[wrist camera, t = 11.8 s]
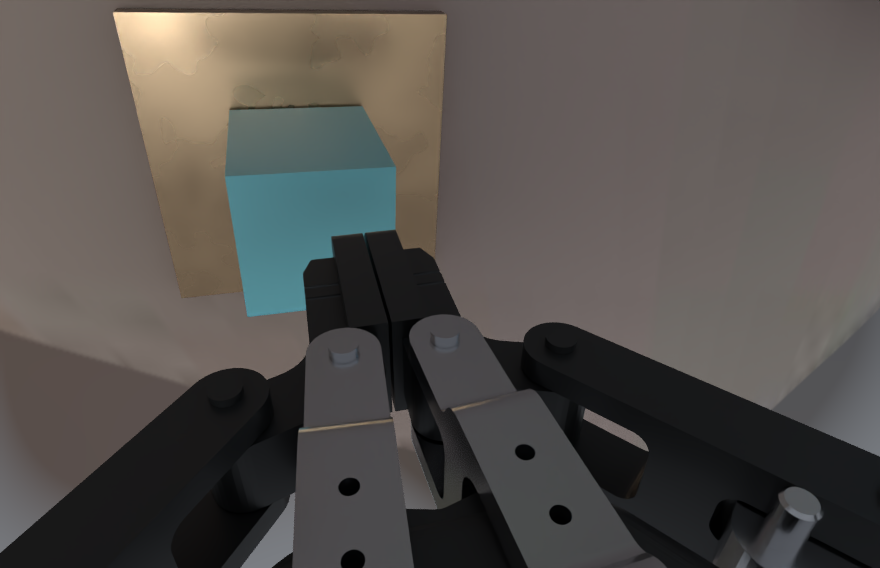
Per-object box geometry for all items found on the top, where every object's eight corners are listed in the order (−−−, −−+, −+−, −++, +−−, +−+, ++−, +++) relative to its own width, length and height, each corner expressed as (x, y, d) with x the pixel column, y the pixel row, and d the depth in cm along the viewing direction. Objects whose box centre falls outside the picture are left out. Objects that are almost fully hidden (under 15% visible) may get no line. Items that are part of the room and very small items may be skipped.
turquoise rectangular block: (362, 106, 24) (396, 166, 19) (365, 219, 27) (394, 299, 21) (229, 110, 23) (224, 176, 17) (247, 228, 25) (247, 316, 20)
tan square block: (441, 11, 24) (502, 48, 18) (430, 262, 30) (472, 347, 25) (116, 8, 21) (69, 51, 15) (183, 288, 27) (167, 391, 22)
